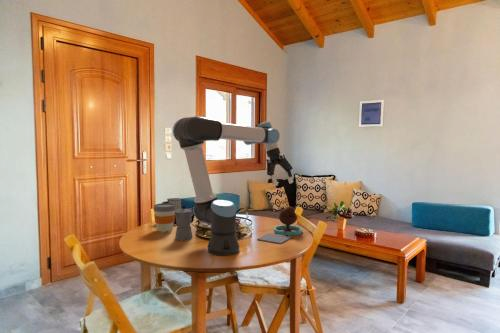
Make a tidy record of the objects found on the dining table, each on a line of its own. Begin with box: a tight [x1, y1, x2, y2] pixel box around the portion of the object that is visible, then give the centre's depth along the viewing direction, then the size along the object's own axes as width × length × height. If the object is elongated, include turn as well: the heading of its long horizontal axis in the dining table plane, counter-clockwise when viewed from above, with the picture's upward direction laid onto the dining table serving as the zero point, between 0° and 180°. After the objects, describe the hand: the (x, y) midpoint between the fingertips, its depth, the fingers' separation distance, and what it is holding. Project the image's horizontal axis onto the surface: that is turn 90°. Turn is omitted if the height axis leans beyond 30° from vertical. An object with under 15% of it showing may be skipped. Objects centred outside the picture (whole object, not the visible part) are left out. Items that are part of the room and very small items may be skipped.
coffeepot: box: [174, 204, 195, 241], centre depth 180 cm, size 15×9×18 cm, turn 147°
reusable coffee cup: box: [153, 202, 176, 233], centre depth 195 cm, size 13×13×15 cm
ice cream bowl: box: [278, 206, 298, 232], centre depth 194 cm, size 11×11×15 cm
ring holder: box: [273, 224, 303, 237], centre depth 194 cm, size 16×16×2 cm
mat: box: [256, 232, 293, 245], centre depth 180 cm, size 14×14×1 cm
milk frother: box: [161, 197, 182, 226], centre depth 215 cm, size 14×16×15 cm
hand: (283, 184), depth 190 cm, fingers open, 13 cm apart
